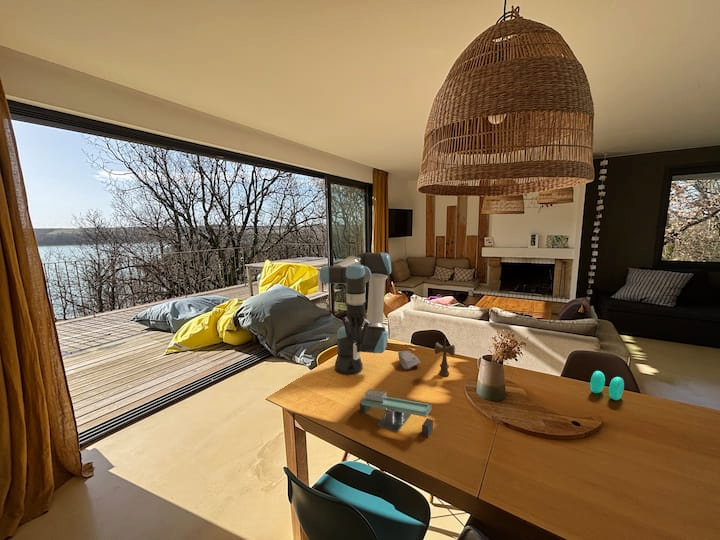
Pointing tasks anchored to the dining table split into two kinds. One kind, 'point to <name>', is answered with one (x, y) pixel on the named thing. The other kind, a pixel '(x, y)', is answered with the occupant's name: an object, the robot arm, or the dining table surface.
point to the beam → (401, 406)
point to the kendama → (444, 356)
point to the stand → (398, 420)
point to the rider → (376, 396)
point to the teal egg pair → (614, 388)
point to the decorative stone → (408, 359)
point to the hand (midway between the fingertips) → (356, 358)
